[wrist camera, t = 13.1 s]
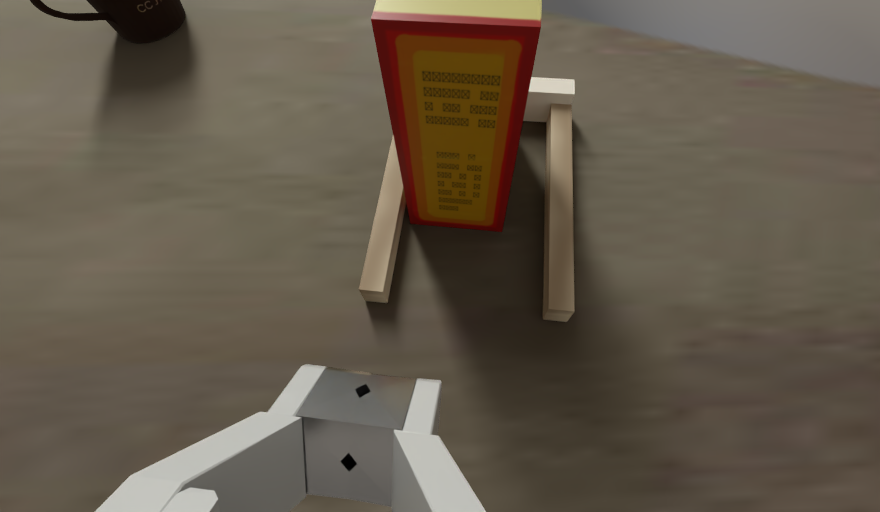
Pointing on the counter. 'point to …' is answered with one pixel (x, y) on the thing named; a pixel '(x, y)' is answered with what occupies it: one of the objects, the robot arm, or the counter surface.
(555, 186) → the slot rack
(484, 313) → the counter surface
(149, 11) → the coffee mug
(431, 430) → the robot arm
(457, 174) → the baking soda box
